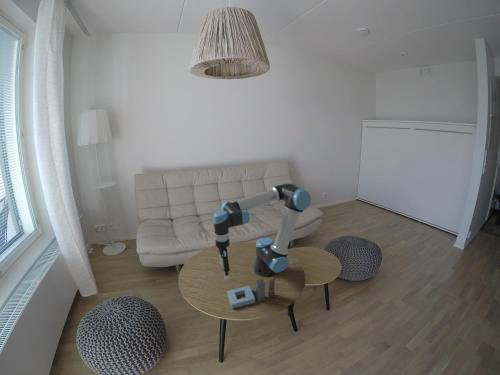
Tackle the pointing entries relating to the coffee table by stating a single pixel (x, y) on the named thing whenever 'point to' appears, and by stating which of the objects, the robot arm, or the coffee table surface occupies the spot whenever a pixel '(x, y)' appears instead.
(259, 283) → the square bit
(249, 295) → the bore block
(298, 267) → the coffee table surface
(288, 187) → the robot arm
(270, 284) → the walnut dowel
